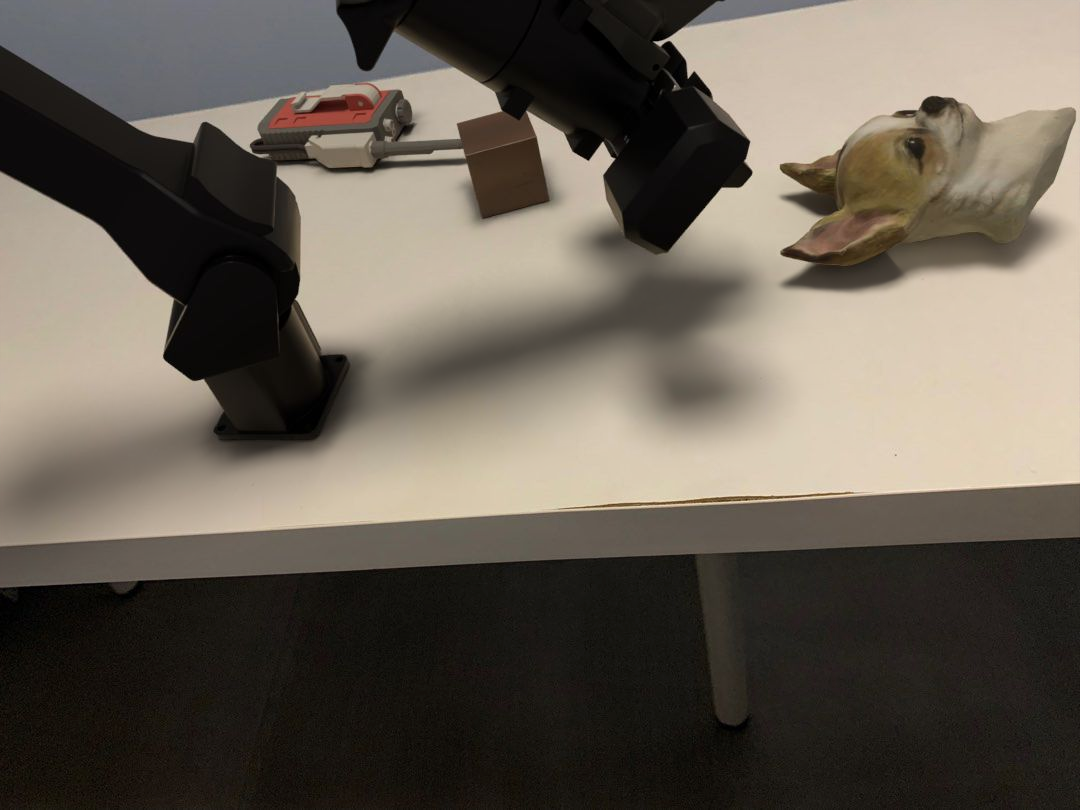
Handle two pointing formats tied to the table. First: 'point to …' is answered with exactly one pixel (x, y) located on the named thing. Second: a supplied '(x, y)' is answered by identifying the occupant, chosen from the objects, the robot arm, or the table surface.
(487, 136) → the walnut block
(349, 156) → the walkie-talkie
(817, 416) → the table surface
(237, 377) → the robot arm
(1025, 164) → the ceramic sculpture
